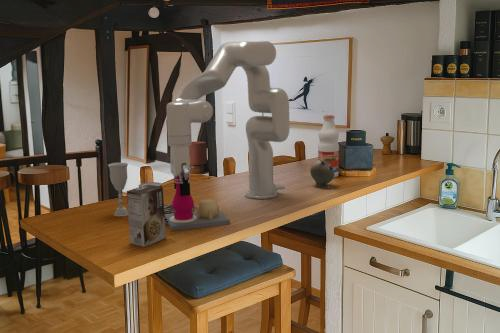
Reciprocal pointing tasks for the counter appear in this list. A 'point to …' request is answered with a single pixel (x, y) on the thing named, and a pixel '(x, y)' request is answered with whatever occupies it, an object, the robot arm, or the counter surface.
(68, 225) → the counter surface
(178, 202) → the pepper mill
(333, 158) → the fruit juice
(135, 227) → the coffee box
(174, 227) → the plate
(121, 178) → the chalice
